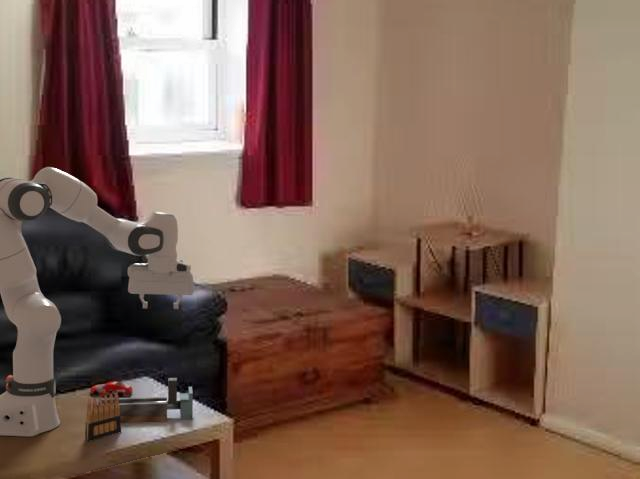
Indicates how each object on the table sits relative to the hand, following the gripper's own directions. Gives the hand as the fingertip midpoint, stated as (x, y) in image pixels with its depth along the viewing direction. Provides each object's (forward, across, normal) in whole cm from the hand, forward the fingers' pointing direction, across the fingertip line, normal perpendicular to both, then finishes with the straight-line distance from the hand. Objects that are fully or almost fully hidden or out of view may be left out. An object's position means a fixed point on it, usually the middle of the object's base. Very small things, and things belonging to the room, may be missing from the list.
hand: (160, 308), depth 304 cm
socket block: (+30, +9, -14) cm, 34 cm away
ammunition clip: (+32, -15, -28) cm, 45 cm away
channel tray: (+30, -8, -14) cm, 35 cm away
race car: (+30, -14, +7) cm, 34 cm away
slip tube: (+28, +1, -14) cm, 31 cm away
